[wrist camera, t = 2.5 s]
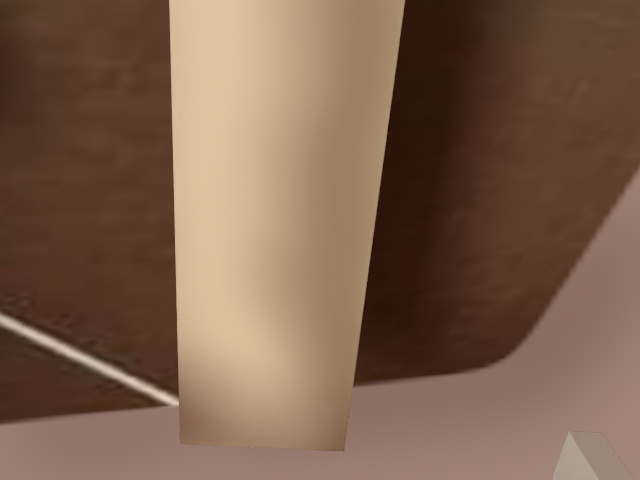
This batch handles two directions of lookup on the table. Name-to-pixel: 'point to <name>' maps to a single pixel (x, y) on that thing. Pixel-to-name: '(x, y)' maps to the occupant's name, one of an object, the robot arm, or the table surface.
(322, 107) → the beige and orange block
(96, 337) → the table surface
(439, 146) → the table surface
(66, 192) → the table surface
